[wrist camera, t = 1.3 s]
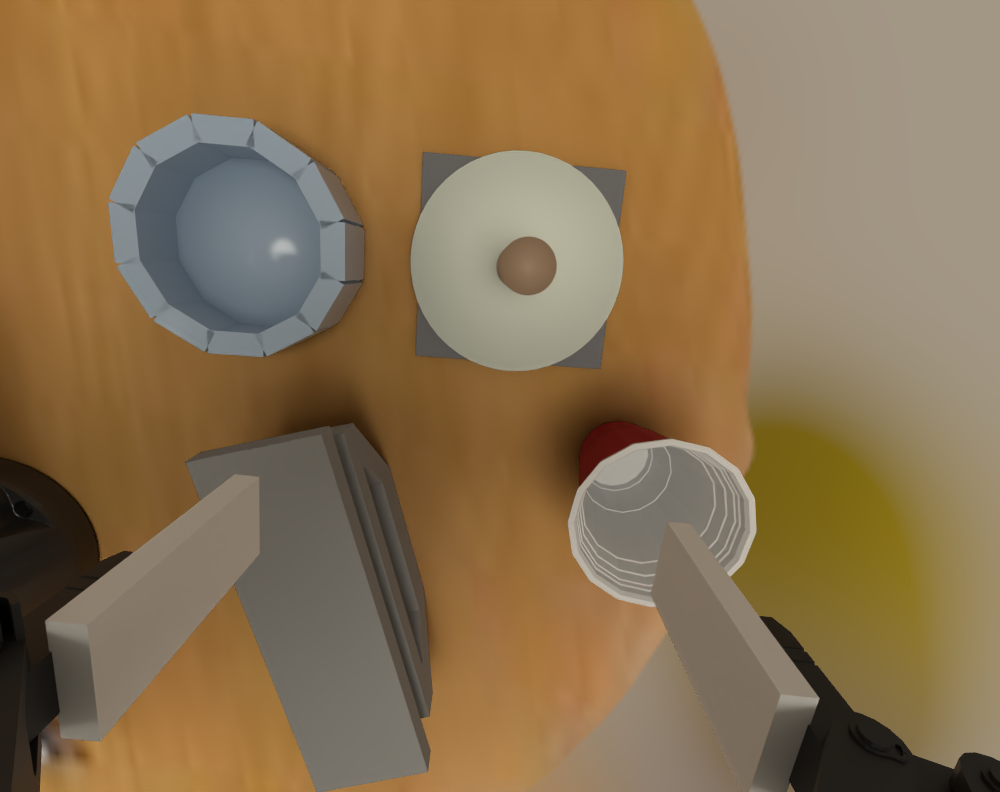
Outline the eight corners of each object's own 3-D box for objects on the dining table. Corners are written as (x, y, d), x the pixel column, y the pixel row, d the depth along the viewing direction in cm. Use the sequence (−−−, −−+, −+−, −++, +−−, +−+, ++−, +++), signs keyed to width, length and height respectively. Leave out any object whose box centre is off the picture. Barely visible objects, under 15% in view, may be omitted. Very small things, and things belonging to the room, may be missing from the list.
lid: (408, 361, 37) (382, 394, 27) (416, 143, 33) (388, 92, 24) (605, 375, 37) (646, 412, 28) (634, 163, 34) (692, 122, 24)
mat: (416, 354, 37) (415, 355, 37) (423, 153, 34) (423, 152, 33) (598, 367, 38) (600, 369, 37) (624, 172, 34) (626, 170, 34)
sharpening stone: (268, 408, 38) (185, 462, 27) (367, 387, 38) (321, 434, 27) (357, 667, 44) (316, 792, 34) (441, 651, 44) (427, 772, 34)
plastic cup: (549, 387, 38) (576, 439, 26) (685, 390, 38) (772, 443, 27) (541, 513, 41) (564, 611, 29) (669, 515, 41) (741, 612, 30)
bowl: (172, 336, 36) (124, 347, 31) (154, 128, 33) (96, 104, 28) (363, 350, 37) (345, 362, 32) (365, 148, 33) (344, 127, 29)
